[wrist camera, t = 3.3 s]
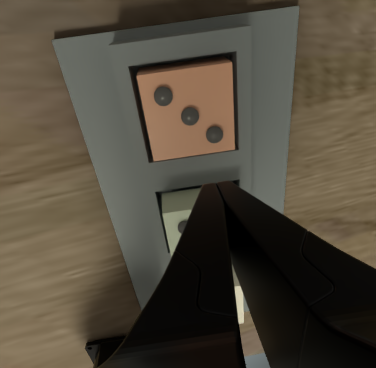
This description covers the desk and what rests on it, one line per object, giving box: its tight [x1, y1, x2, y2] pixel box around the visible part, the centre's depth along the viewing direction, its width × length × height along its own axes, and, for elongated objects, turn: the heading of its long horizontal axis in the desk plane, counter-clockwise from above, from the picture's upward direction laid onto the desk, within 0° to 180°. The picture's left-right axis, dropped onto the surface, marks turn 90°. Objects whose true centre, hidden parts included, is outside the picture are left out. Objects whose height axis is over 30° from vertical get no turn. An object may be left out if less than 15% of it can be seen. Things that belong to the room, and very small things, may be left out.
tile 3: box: [137, 56, 235, 161], centre depth 17 cm, size 5×5×2 cm
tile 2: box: [162, 188, 201, 257], centre depth 20 cm, size 5×5×2 cm
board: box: [52, 6, 299, 312], centre depth 22 cm, size 25×14×2 cm, turn 7°
